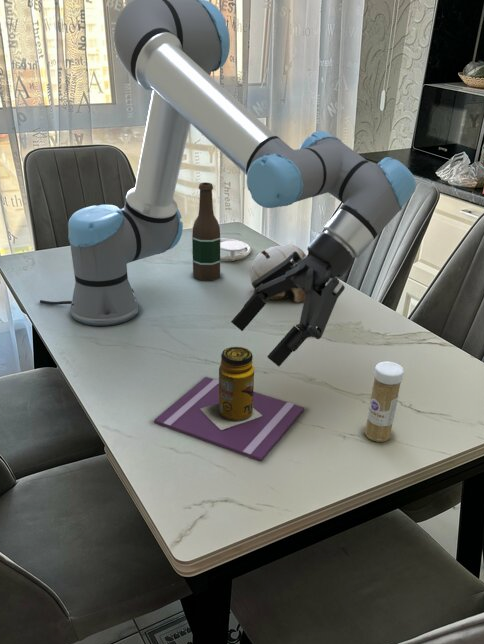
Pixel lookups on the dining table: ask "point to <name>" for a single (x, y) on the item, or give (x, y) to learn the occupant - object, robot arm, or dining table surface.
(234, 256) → the white rounded slab
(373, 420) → the sprinkles bottle
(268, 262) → the coin bank
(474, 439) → the dining table surface
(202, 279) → the beer bottle
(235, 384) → the condiment
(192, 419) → the towel
